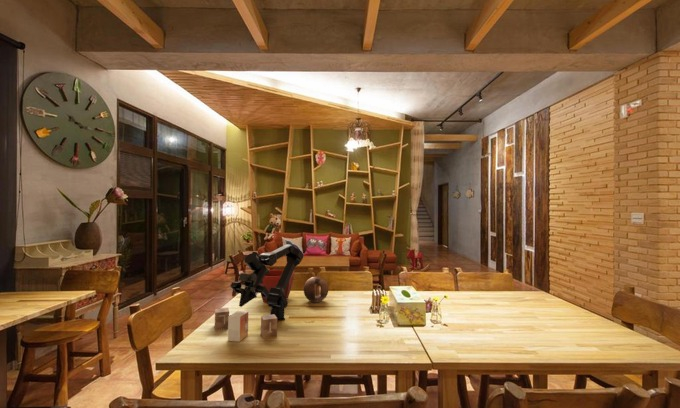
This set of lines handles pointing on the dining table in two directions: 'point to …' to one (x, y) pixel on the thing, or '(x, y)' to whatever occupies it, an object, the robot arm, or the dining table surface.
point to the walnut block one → (269, 326)
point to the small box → (238, 326)
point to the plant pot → (275, 282)
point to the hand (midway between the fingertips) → (240, 306)
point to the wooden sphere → (315, 289)
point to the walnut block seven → (221, 318)
